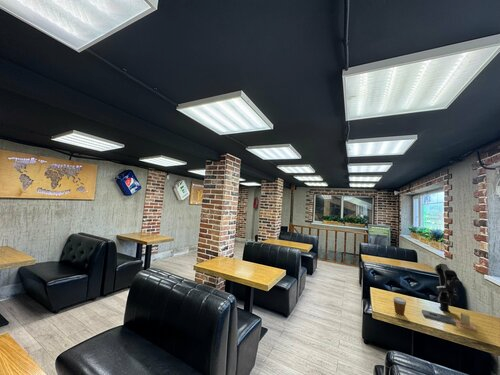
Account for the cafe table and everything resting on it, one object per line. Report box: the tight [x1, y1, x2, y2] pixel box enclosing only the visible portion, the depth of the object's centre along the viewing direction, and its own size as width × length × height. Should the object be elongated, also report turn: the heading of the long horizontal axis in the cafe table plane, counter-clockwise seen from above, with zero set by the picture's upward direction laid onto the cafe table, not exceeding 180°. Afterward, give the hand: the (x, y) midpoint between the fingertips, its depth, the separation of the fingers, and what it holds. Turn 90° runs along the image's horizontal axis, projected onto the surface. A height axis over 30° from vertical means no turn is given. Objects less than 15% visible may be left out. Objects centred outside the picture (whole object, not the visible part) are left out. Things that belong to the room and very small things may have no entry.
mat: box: [454, 319, 478, 331], centre depth 166 cm, size 10×10×1 cm
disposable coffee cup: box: [392, 296, 407, 316], centre depth 179 cm, size 10×10×12 cm
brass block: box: [460, 312, 471, 327], centre depth 167 cm, size 4×4×8 cm
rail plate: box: [421, 309, 457, 326], centre depth 175 cm, size 10×20×2 cm, turn 60°
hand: (449, 302), depth 179 cm, fingers open, 9 cm apart
